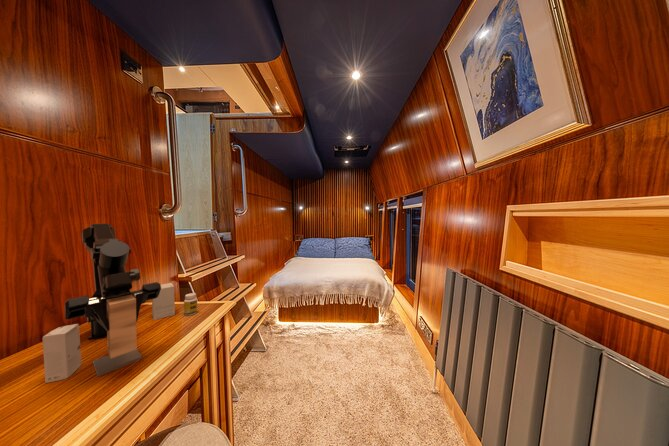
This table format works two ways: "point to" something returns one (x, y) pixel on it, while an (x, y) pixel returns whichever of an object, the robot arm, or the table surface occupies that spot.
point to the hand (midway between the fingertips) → (122, 326)
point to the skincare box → (61, 352)
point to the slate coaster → (115, 362)
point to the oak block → (121, 325)
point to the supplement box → (164, 302)
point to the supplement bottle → (190, 304)
